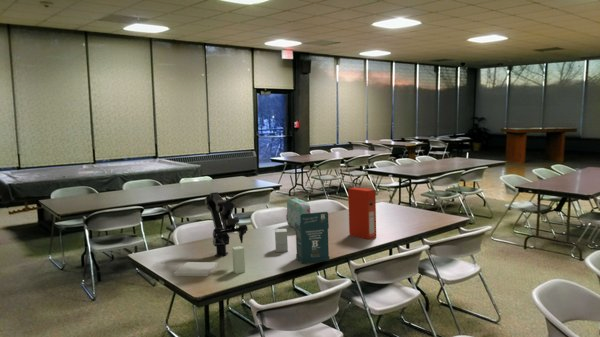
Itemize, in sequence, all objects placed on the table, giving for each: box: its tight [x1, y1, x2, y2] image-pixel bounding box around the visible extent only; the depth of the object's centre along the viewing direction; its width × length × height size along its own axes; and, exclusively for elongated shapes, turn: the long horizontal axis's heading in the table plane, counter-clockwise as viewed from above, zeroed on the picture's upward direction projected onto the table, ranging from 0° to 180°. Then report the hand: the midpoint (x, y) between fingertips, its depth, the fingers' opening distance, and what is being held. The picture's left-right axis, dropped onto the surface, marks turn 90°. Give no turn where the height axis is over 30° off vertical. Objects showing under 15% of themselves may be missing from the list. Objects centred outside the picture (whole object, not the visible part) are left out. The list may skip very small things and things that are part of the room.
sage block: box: [231, 245, 246, 275], centre depth 238 cm, size 5×5×13 cm
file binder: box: [347, 186, 377, 240], centre depth 300 cm, size 8×17×32 cm, turn 39°
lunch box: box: [285, 197, 311, 230], centre depth 331 cm, size 27×10×21 cm, turn 25°
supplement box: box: [274, 228, 289, 253], centre depth 274 cm, size 7×7×13 cm
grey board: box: [173, 261, 219, 277], centre depth 243 cm, size 18×18×2 cm
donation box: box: [295, 211, 331, 265], centre depth 256 cm, size 16×16×28 cm
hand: (233, 244), depth 244 cm, fingers open, 9 cm apart
